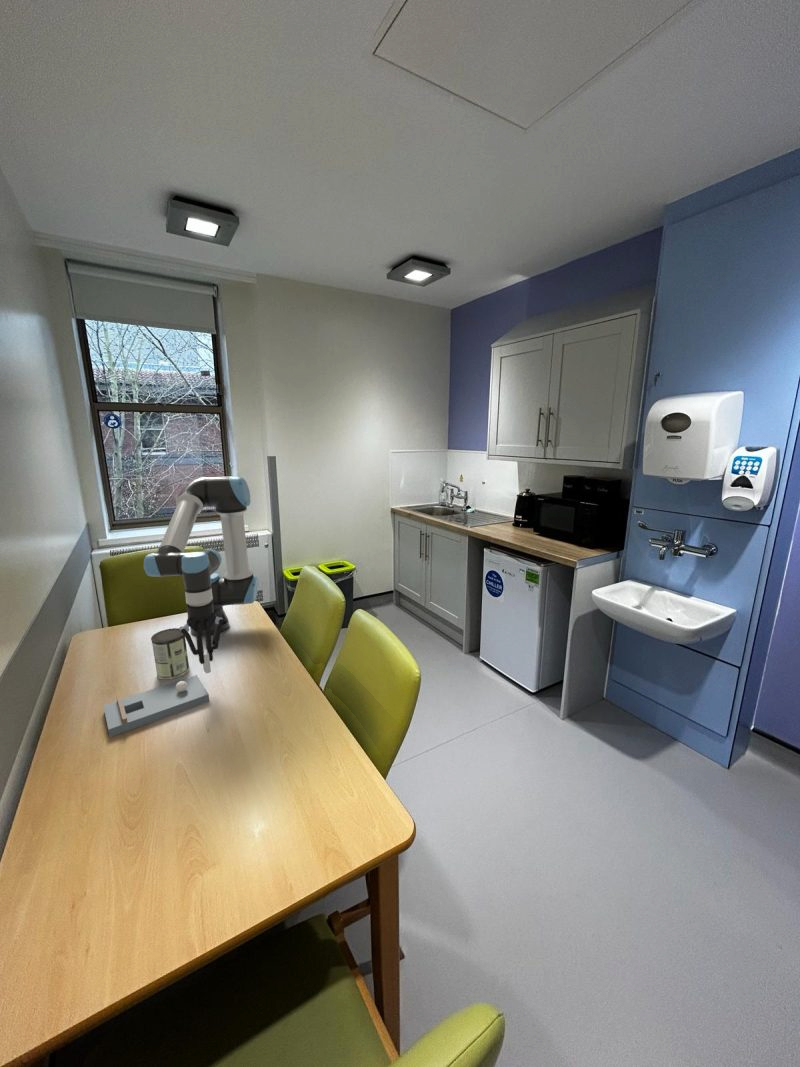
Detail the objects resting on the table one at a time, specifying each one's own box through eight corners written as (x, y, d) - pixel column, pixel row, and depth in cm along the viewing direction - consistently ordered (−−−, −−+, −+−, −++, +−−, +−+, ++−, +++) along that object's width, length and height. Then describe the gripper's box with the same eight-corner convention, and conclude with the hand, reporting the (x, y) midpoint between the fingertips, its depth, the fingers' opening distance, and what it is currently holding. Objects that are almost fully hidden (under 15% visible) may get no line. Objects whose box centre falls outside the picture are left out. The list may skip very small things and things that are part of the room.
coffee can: (168, 663, 155) (163, 627, 152) (195, 664, 154) (191, 628, 151) (149, 679, 145) (143, 641, 142) (178, 680, 144) (173, 642, 141)
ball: (186, 686, 137) (185, 677, 136) (188, 691, 134) (187, 682, 133) (175, 690, 135) (174, 681, 134) (177, 695, 132) (176, 685, 131)
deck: (197, 681, 144) (196, 670, 143) (209, 701, 133) (208, 689, 132) (104, 712, 128) (102, 700, 127) (109, 737, 117) (107, 724, 117)
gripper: (217, 594, 140) (224, 660, 145) (173, 603, 132) (182, 673, 137) (225, 600, 134) (231, 669, 139) (179, 610, 126) (188, 683, 131)
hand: (207, 671), depth 138 cm, fingers closed
